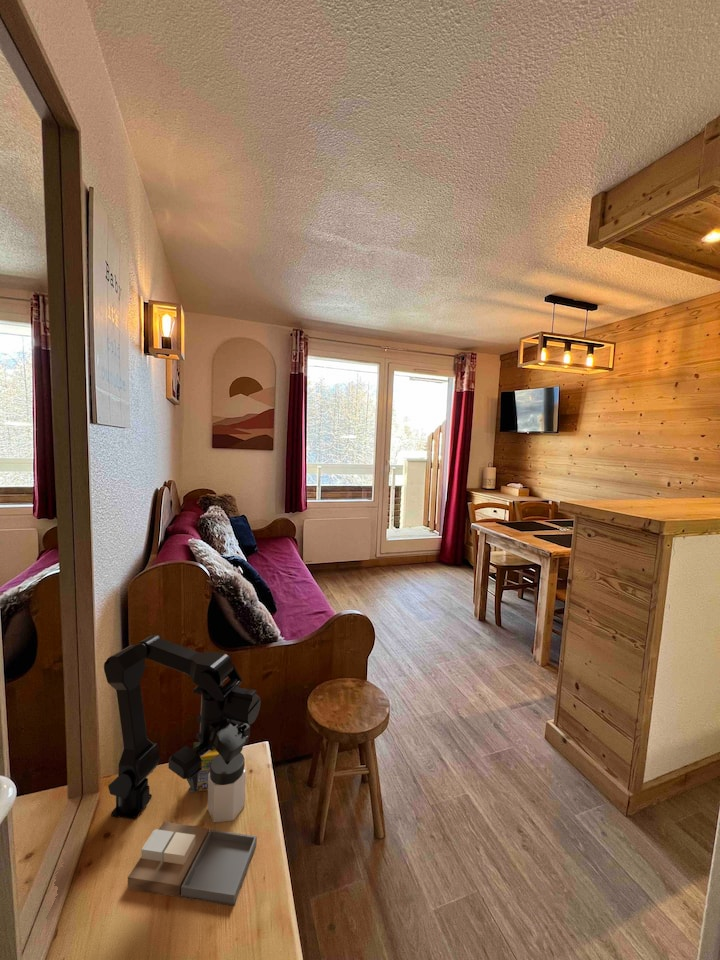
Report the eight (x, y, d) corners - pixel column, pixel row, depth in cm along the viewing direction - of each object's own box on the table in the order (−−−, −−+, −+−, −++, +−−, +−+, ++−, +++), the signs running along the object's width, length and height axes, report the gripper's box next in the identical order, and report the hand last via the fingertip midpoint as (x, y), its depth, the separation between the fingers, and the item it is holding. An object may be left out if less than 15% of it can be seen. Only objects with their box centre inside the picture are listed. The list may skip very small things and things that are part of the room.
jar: (249, 811, 96) (250, 765, 95) (216, 830, 91) (217, 782, 90) (235, 787, 103) (236, 743, 102) (203, 803, 98) (204, 758, 97)
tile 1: (141, 858, 82) (141, 849, 82) (154, 837, 86) (154, 829, 86) (161, 861, 81) (161, 852, 81) (173, 840, 86) (173, 831, 86)
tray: (180, 897, 77) (181, 886, 77) (210, 838, 89) (210, 829, 89) (234, 905, 76) (234, 895, 76) (256, 845, 88) (256, 836, 88)
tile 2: (163, 861, 81) (163, 852, 81) (175, 840, 86) (176, 832, 85) (184, 864, 81) (184, 855, 81) (195, 843, 85) (195, 834, 85)
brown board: (127, 888, 78) (127, 877, 78) (163, 831, 90) (163, 821, 90) (179, 897, 77) (179, 885, 77) (208, 838, 89) (209, 828, 89)
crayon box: (189, 793, 100) (190, 750, 100) (192, 784, 103) (193, 742, 103) (219, 789, 102) (220, 747, 101) (221, 780, 105) (222, 739, 104)
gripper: (202, 753, 77) (199, 826, 78) (268, 704, 93) (265, 765, 94) (168, 730, 83) (165, 799, 84) (236, 687, 99) (233, 745, 100)
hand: (211, 776), depth 90 cm, fingers open, 9 cm apart
